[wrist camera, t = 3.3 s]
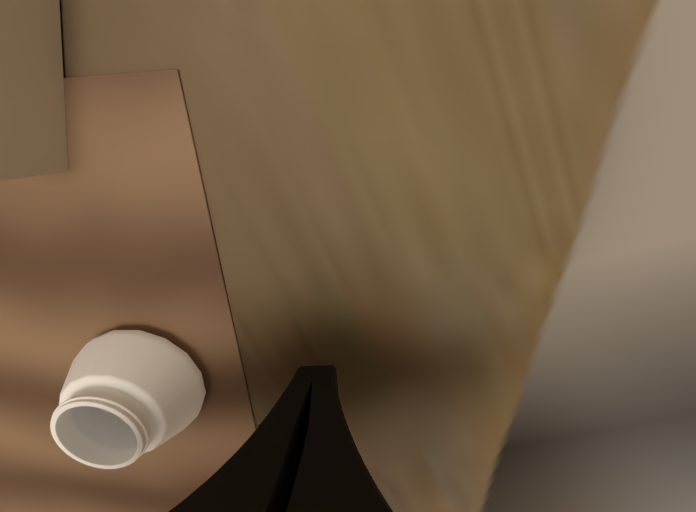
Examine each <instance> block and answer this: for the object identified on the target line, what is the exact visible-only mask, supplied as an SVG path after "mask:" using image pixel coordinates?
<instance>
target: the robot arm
mask: <svg viewBox="0 0 696 512" xmlns="http://www.w3.org/2000/svg"><path fill="white" fill-rule="evenodd" d="M169 512H393V511H392V510H391V508H390V507H389V505H388V504H387V502H386V500H385V499H384V497H383V496H382V494H381V492H380V491H379V489H378V487H377V486H376V484H375V482H374V480H373V478H372V477H371V475H370V473H369V471H368V469H367V468H366V466H365V464H364V462H363V460H362V458H361V456H360V454H359V452H358V450H357V447H356V445H355V443H354V441H353V438H352V436H351V433H350V431H349V428H348V425H347V423H346V420H345V417H344V414H343V411H342V408H341V404H340V400H339V397H338V387H337V376H336V368H335V367H334V366H333V365H330V366H303V367H300V368H299V369H298V370H297V372H296V374H295V375H294V377H293V379H292V380H291V382H290V383H289V385H288V386H287V388H286V390H285V391H284V393H283V394H282V396H281V397H280V398H279V400H278V401H277V403H276V404H275V406H274V407H273V408H272V410H271V411H270V412H269V414H268V415H267V416H266V418H265V419H264V420H263V421H262V423H261V424H260V425H259V426H258V428H257V429H256V430H255V431H254V433H253V434H252V435H251V436H250V437H249V438H248V440H247V441H246V442H245V443H244V444H243V445H242V446H241V447H240V448H239V449H238V450H237V452H236V453H235V454H234V455H233V456H232V457H231V458H230V459H229V460H228V461H227V462H226V463H225V464H224V465H223V466H222V467H221V468H220V469H219V470H217V471H216V472H215V473H214V474H213V475H212V476H211V477H210V478H209V479H208V480H207V481H205V482H204V483H203V484H202V485H201V486H200V487H198V488H197V489H196V490H195V491H194V492H193V493H191V494H190V495H189V496H188V497H187V498H185V499H184V500H183V501H182V502H180V503H179V504H178V505H177V506H175V507H174V508H173V509H171V510H170V511H169Z"/></svg>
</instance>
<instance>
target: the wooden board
mask: <svg viewBox="0 0 696 512" xmlns="http://www.w3.org/2000/svg"><path fill="white" fill-rule="evenodd" d="M63 79H64V98H65V117H66V136H67V154H68V172H61V173H54V174H46V175H39V176H32V177H24V178H17V179H9V180H2V181H0V512H169V511H170V510H171V509H173V508H174V507H175V506H177V505H178V504H179V503H180V502H182V501H183V500H184V499H185V498H187V497H188V496H189V495H190V494H191V493H193V492H194V491H195V490H196V489H197V488H198V487H200V486H201V485H202V484H203V483H204V482H205V481H207V480H208V479H209V478H210V477H211V476H212V475H213V474H214V473H215V472H216V471H217V470H219V469H220V468H221V467H222V466H223V465H224V464H225V463H226V462H227V461H228V460H229V459H230V458H231V457H232V456H233V455H234V454H235V453H236V452H237V450H238V449H239V448H240V447H241V446H242V445H243V444H244V443H245V442H246V441H247V440H248V438H249V437H250V436H251V435H252V434H253V433H254V431H255V430H256V425H255V420H254V416H253V411H252V406H251V402H250V397H249V392H248V388H247V383H246V379H245V374H244V369H243V365H242V360H241V356H240V351H239V346H238V342H237V337H236V332H235V328H234V323H233V319H232V314H231V309H230V305H229V300H228V295H227V291H226V286H225V282H224V277H223V272H222V268H221V263H220V258H219V254H218V249H217V245H216V240H215V235H214V231H213V226H212V222H211V217H210V212H209V208H208V203H207V198H206V194H205V189H204V185H203V180H202V175H201V171H200V166H199V161H198V157H197V152H196V148H195V143H194V138H193V134H192V129H191V124H190V120H189V115H188V111H187V106H186V101H185V97H184V92H183V87H182V83H181V78H180V74H179V70H178V69H171V70H158V71H146V72H133V73H121V74H108V75H95V76H83V77H70V78H63ZM113 330H141V331H144V332H147V333H151V334H154V335H157V336H160V337H163V338H166V339H167V340H169V341H170V342H172V343H173V344H174V345H176V346H177V347H179V348H180V349H182V350H183V351H184V352H186V353H187V354H188V355H189V356H190V358H191V359H192V361H193V362H194V363H195V365H196V366H197V367H198V369H199V370H200V371H201V373H202V377H203V382H204V386H205V391H206V394H205V397H204V401H203V404H202V408H201V411H200V412H199V414H198V416H197V417H196V418H195V419H194V420H193V421H192V422H191V423H190V424H189V425H188V426H187V427H186V428H185V429H184V430H182V431H181V432H179V433H178V434H176V435H175V436H173V437H172V438H170V439H169V440H167V441H166V442H164V443H163V444H161V445H160V446H158V447H157V448H155V449H154V450H152V451H149V452H146V453H143V454H142V455H141V456H140V457H139V458H138V459H137V460H136V461H135V462H133V463H132V464H130V465H128V466H125V467H122V468H118V469H101V468H95V467H91V466H88V465H85V464H83V463H81V462H79V461H77V460H75V459H73V458H71V457H70V456H69V455H67V454H66V453H65V452H64V451H63V450H62V449H61V448H60V447H59V446H58V445H57V444H56V442H55V440H54V439H53V437H52V434H51V430H50V422H51V418H52V414H53V412H54V411H55V409H56V408H57V407H58V406H59V399H60V393H61V390H62V388H63V385H64V382H65V380H66V377H67V375H68V372H69V370H70V367H71V364H72V362H73V360H74V358H75V357H76V356H77V355H78V353H79V352H80V351H81V350H82V348H83V347H84V346H85V345H86V344H87V343H88V342H89V341H91V340H92V339H94V338H96V337H98V336H101V335H103V334H105V333H108V332H110V331H113Z"/></svg>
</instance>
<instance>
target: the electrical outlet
mask: <svg viewBox="0 0 696 512" xmlns="http://www.w3.org/2000/svg"><path fill="white" fill-rule="evenodd" d="M61 172H68V154H67V136H66V117H65V98H64V79H63V60H62V41H61V22H60V4H59V0H0V181H2V180H9V179H17V178H24V177H32V176H39V175H46V174H54V173H61Z"/></svg>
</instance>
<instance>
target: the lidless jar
mask: <svg viewBox="0 0 696 512" xmlns="http://www.w3.org/2000/svg"><path fill="white" fill-rule="evenodd" d="M205 394H206V391H205V386H204V382H203V377H202V373H201V371H200V370H199V369H198V367H197V366H196V365H195V363H194V362H193V361H192V359H191V358H190V356H189V355H188V354H187V353H186V352H184V351H183V350H182V349H180V348H179V347H177V346H176V345H174V344H173V343H172V342H170V341H169V340H167V339H166V338H163V337H160V336H157V335H154V334H151V333H147V332H144V331H141V330H113V331H110V332H108V333H105V334H103V335H101V336H98V337H96V338H94V339H92V340H91V341H89V342H88V343H87V344H86V345H85V346H84V347H83V348H82V350H81V351H80V352H79V353H78V355H77V356H76V357H75V358H74V360H73V362H72V364H71V367H70V370H69V372H68V375H67V377H66V380H65V382H64V385H63V388H62V390H61V393H60V399H59V406H58V407H57V408H56V409H55V411H54V412H53V414H52V418H51V422H50V430H51V434H52V437H53V439H54V440H55V442H56V444H57V445H58V446H59V447H60V448H61V449H62V450H63V451H64V452H65V453H66V454H67V455H69V456H70V457H71V458H73V459H75V460H77V461H79V462H81V463H83V464H85V465H88V466H91V467H95V468H101V469H118V468H122V467H125V466H128V465H130V464H132V463H133V462H135V461H136V460H137V459H138V458H139V457H140V456H141V455H142V454H143V453H146V452H149V451H152V450H154V449H155V448H157V447H158V446H160V445H161V444H163V443H164V442H166V441H167V440H169V439H170V438H172V437H173V436H175V435H176V434H178V433H179V432H181V431H182V430H184V429H185V428H186V427H187V426H188V425H189V424H190V423H191V422H192V421H193V420H194V419H195V418H196V417H197V416H198V414H199V412H200V411H201V408H202V404H203V401H204V397H205Z"/></svg>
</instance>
